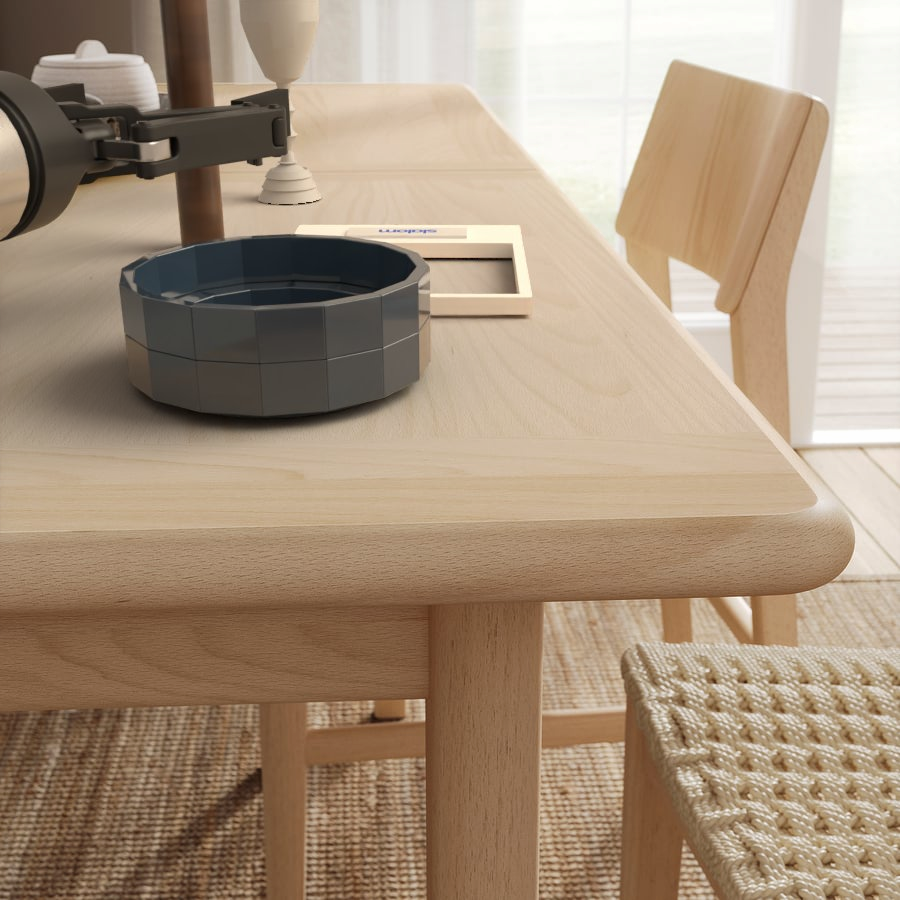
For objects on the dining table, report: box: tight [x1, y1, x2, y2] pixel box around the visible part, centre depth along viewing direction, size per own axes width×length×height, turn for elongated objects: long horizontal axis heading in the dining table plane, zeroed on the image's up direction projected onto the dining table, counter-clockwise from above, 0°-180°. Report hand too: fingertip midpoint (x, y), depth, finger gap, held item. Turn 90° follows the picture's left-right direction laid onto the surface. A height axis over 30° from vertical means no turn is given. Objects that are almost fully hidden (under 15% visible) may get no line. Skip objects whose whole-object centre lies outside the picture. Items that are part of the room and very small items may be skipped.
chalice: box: [238, 0, 323, 205], centre depth 89 cm, size 7×7×18 cm
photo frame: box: [293, 224, 534, 316], centre depth 70 cm, size 15×1×18 cm
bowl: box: [118, 233, 432, 419], centre depth 52 cm, size 13×13×5 cm
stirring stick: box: [158, 0, 226, 246], centre depth 74 cm, size 3×3×16 cm
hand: (180, 108), depth 72 cm, fingers open, 13 cm apart
